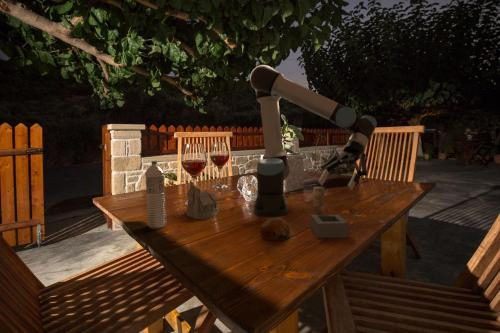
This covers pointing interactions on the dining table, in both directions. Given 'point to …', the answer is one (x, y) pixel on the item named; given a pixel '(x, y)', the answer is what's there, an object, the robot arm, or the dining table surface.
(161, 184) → the water bottle
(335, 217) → the socket
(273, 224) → the bread roll
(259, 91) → the robot arm
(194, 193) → the ceramic cottage
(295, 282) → the dining table surface
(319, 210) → the dowel
